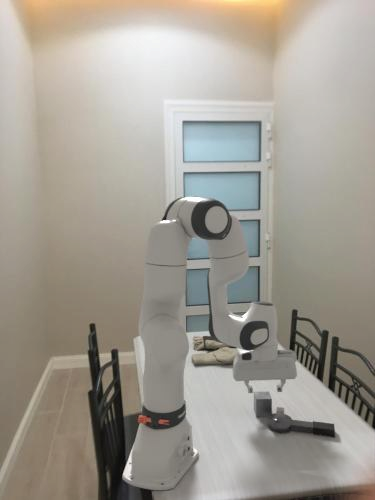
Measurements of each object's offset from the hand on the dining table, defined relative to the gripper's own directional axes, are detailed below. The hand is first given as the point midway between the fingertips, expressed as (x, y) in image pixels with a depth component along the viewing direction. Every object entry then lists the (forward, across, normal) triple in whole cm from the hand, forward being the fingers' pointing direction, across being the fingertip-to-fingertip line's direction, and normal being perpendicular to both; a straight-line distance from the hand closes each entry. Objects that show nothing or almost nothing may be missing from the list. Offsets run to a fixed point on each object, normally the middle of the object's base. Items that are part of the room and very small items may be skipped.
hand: (264, 391), depth 131 cm
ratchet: (+7, -9, +10) cm, 15 cm away
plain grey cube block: (+7, +1, 0) cm, 7 cm away
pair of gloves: (+8, +12, -52) cm, 54 cm away
